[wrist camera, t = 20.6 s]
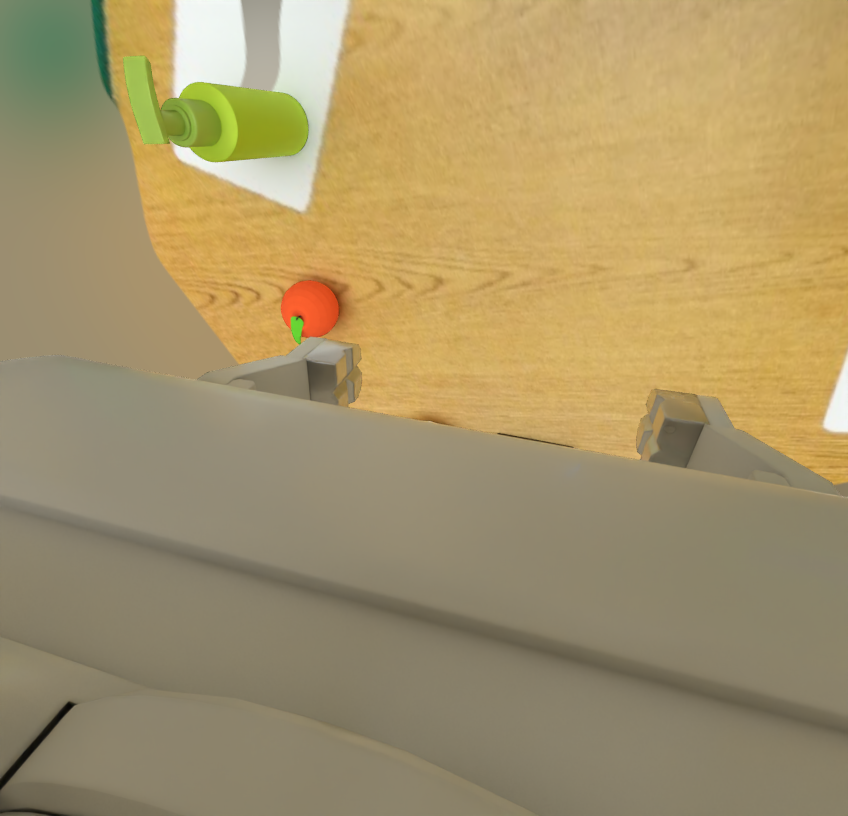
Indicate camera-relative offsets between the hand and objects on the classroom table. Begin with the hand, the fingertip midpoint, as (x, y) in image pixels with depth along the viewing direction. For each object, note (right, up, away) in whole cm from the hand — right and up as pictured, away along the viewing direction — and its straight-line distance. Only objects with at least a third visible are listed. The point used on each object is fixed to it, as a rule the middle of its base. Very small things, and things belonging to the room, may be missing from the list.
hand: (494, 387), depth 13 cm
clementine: (-15, +13, +48) cm, 52 cm away
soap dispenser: (-17, +31, +38) cm, 52 cm away
